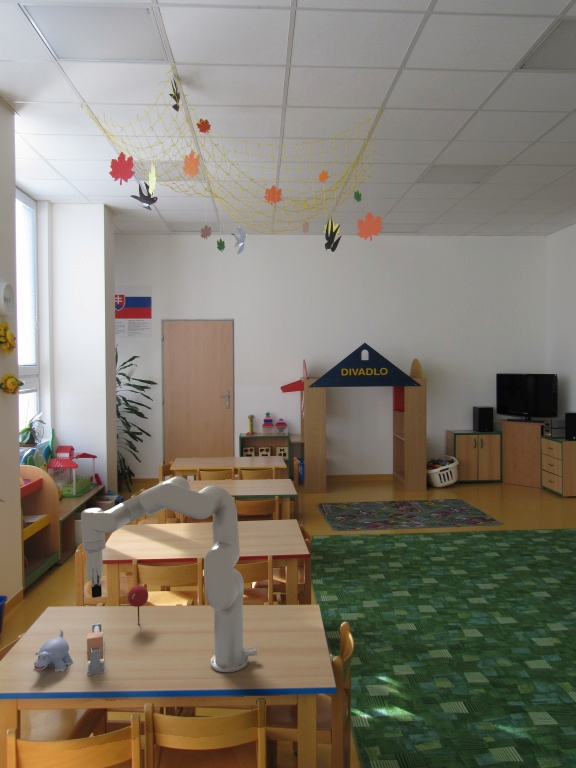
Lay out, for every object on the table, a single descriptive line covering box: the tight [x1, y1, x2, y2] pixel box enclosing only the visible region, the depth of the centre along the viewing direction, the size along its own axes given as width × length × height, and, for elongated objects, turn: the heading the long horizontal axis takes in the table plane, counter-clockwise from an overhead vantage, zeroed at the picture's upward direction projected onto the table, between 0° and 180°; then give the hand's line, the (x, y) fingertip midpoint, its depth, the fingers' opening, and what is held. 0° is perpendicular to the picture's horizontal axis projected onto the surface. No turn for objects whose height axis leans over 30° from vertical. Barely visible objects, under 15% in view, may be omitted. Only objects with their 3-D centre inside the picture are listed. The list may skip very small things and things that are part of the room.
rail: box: [86, 622, 105, 676], centre depth 203 cm, size 5×23×7 cm, turn 16°
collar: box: [86, 630, 105, 662], centre depth 197 cm, size 5×4×8 cm
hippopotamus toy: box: [33, 629, 74, 673], centre depth 196 cm, size 11×15×10 cm
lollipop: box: [127, 585, 149, 625], centre depth 227 cm, size 8×8×15 cm
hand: (96, 596), depth 205 cm, fingers closed
